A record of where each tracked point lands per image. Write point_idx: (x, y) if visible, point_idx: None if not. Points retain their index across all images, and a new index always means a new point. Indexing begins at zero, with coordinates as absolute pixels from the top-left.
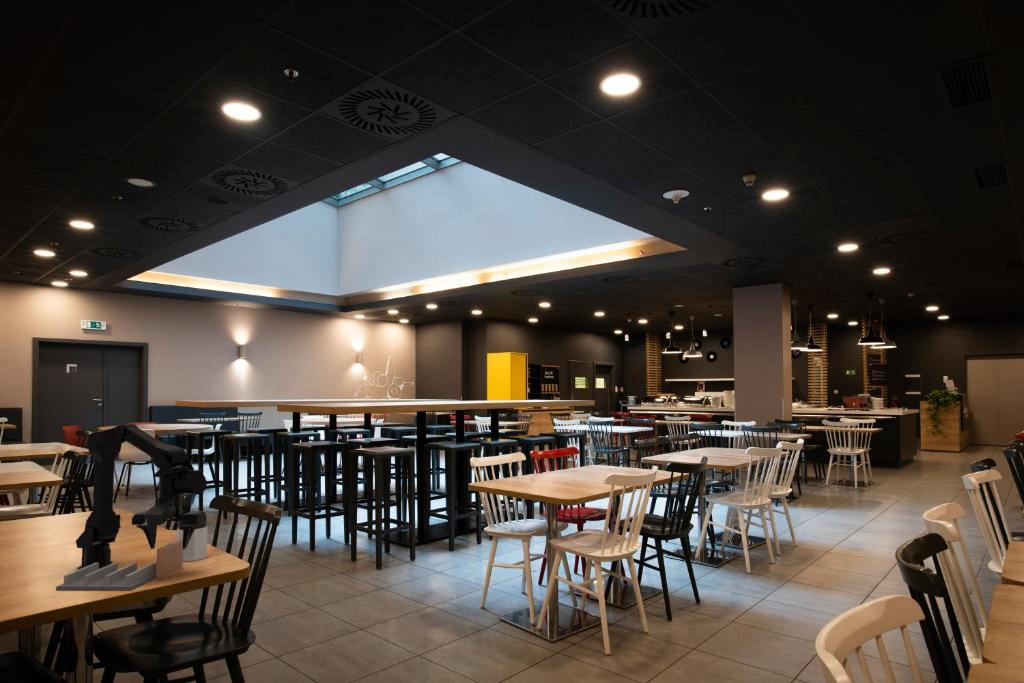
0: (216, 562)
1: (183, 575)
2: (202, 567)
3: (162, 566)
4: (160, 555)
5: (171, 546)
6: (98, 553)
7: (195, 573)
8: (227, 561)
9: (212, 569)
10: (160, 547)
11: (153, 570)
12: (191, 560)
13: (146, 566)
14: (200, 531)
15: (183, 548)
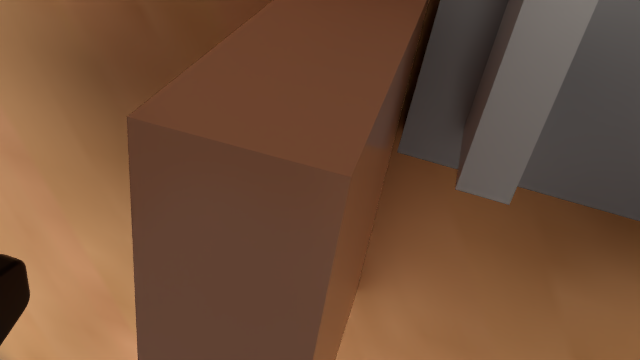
0: (92, 344)
1: (164, 39)
2: (125, 254)
3: (315, 8)
4: (303, 89)
5: (136, 300)
6: None
7: (84, 82)
8: (30, 340)
9: (10, 170)
10: (323, 295)
11: (481, 89)
12: None
13: (567, 1)
14: None
15: (2, 257)
